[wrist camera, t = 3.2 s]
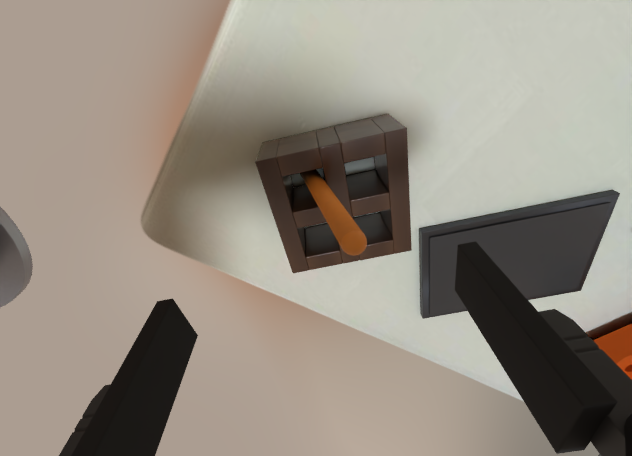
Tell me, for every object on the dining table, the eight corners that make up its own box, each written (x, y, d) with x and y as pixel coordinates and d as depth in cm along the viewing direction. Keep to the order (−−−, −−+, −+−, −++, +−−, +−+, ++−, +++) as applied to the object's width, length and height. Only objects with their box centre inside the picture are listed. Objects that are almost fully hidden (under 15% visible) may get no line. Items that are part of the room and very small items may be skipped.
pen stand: (293, 242, 32) (292, 273, 27) (262, 142, 26) (255, 161, 21) (396, 222, 31) (411, 250, 27) (388, 113, 25) (406, 127, 21)
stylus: (300, 177, 27) (347, 264, 15) (296, 163, 27) (342, 241, 14) (314, 173, 27) (372, 256, 15) (311, 159, 27) (369, 233, 14)
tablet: (420, 313, 39) (423, 320, 38) (419, 228, 31) (422, 233, 30) (575, 286, 37) (582, 291, 37) (612, 189, 30) (622, 194, 29)
